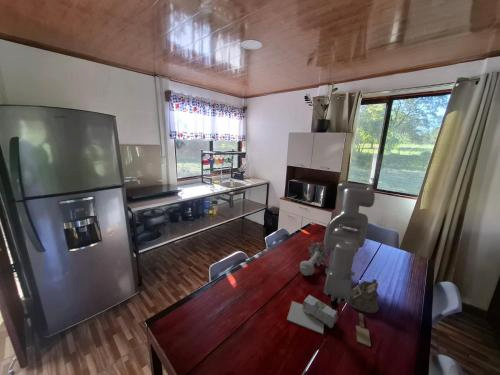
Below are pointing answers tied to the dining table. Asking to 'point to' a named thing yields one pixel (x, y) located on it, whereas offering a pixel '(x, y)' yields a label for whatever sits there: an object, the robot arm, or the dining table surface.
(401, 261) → the dining table surface
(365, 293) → the ceramic cottage
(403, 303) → the dining table surface
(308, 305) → the syrup box
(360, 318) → the turner
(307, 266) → the flower vase
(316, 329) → the mat
